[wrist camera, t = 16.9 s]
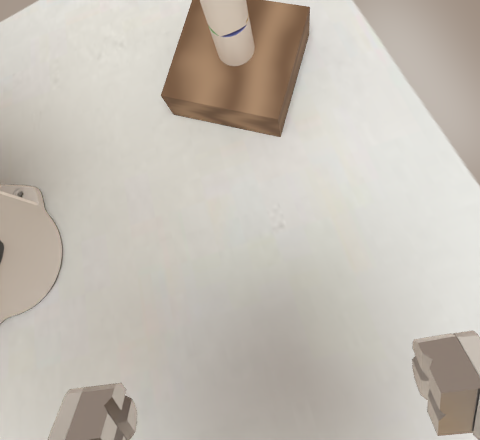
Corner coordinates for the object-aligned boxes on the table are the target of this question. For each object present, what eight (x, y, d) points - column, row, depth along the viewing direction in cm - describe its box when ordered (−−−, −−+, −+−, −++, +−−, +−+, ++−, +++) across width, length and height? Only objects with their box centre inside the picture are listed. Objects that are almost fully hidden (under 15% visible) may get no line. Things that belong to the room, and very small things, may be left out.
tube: (226, 28, 48) (193, -90, 34) (260, 38, 47) (241, -79, 33) (212, 60, 48) (172, -46, 33) (246, 70, 47) (220, -33, 32)
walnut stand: (173, 114, 53) (160, 95, 48) (204, 17, 55) (195, -10, 50) (280, 137, 50) (278, 119, 45) (309, 34, 52) (309, 7, 47)
